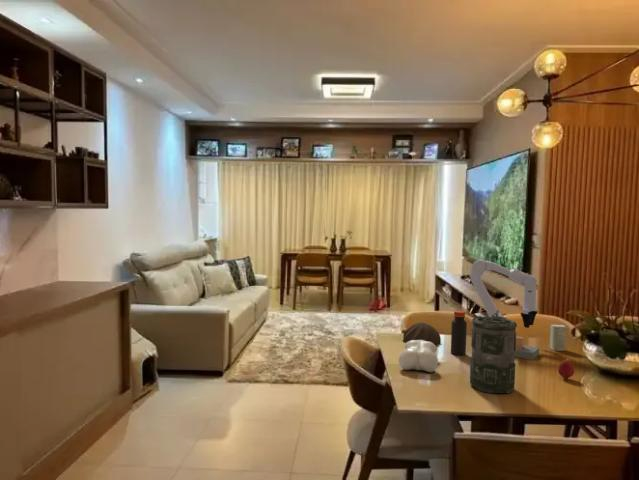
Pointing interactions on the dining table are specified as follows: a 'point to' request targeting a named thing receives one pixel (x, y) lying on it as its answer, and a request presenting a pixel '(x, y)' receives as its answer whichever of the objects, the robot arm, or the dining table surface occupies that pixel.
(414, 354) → the torso sculpture
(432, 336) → the decorative dome
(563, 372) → the onion
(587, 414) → the dining table surface
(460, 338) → the bottle
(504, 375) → the canister
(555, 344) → the skincare box
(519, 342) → the rust peg
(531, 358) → the grey flat block
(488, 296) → the robot arm
